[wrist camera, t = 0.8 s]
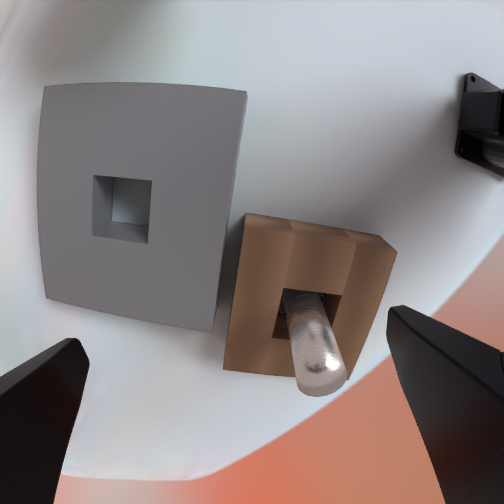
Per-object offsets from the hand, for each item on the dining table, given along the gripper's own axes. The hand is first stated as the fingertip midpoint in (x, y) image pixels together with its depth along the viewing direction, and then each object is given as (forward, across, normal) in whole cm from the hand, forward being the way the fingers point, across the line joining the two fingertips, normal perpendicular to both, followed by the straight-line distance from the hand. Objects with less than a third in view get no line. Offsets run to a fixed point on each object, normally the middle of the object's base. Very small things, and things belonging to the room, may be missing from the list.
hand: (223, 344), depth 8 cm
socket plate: (+12, +6, -2) cm, 14 cm away
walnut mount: (+12, -3, +6) cm, 14 cm away
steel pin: (+12, -3, +6) cm, 14 cm away
